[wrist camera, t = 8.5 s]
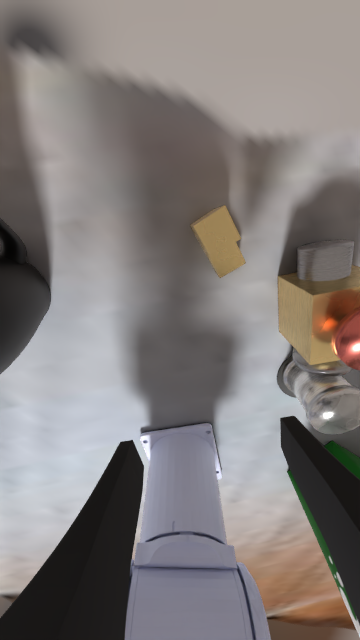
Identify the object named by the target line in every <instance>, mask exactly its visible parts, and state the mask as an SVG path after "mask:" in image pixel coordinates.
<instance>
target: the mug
mask: <svg viewBox="0 0 360 640" xmlns="http://www.w3.org/2000/svg"><path fill="white" fill-rule="evenodd" d="M0 242H1V250H0V374H1V373H2V372H3V371H4V370H6V369H7V368H8V367H9V366H10V365H11V363H12V362H13V361H14V360H15V359H16V358H17V357H18V356H19V355H20V353H21V352H22V351H23V349H24V348H25V347H26V346H27V344H28V343H29V341H30V340H31V338H32V337H33V335H34V333H35V332H36V330H37V328H38V326H39V325H40V323H41V321H42V319H43V317H44V315H45V314H46V313H47V311H48V309H49V306H50V302H51V296H50V291H49V287H48V285H47V283H46V281H45V279H44V278H43V276H42V275H41V274H40V273H39V271H37V270H36V269H35V268H34V267H33V266H32V265H30V264H29V263H27V262H25V261H26V257H27V251H26V248H25V245H24V243H23V242H22V241H21V239H20V238H19V237H18V235H17V234H16V233H15V232H14V231H13V230H12V229H11V228H10V227H9V226H8V225H7V224H6V223H5V222H4V221H3V220H2V219H1V218H0Z"/></svg>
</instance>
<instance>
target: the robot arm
mask: <svg viewBox="0 0 360 640" xmlns="http://www.w3.org/2000/svg"><path fill="white" fill-rule="evenodd" d="M280 421H281V448H282V450H283V453H284V456H285V458H286V461H287V463H288V466H289V468H290V471H291V473H292V475H293V477H294V479H295V481H296V483H297V485H298V487H299V489H300V491H301V493H302V495H303V497H304V499H305V502H306V504H307V506H308V508H309V510H310V512H311V514H312V516H313V518H314V520H315V522H316V524H317V526H318V528H319V530H320V532H321V534H322V536H323V538H324V540H325V542H326V545H327V547H328V549H329V551H330V554H331V556H332V559H333V561H334V563H335V566H336V568H337V571H338V573H339V575H340V578H341V580H342V583H343V585H344V588H345V590H346V593H347V595H348V598H349V600H350V603H351V605H352V607H353V610H354V612H355V615H356V617H357V620H358V622H359V625H360V479H359V478H358V477H356V476H355V475H354V474H353V473H352V472H351V471H350V470H349V469H347V468H346V467H345V466H344V465H343V464H342V463H341V462H340V461H339V460H338V459H337V458H336V457H335V456H334V455H332V454H331V453H330V452H329V451H328V450H327V449H326V448H325V447H324V446H323V445H322V444H321V443H320V442H319V441H318V440H317V439H316V438H315V437H314V436H313V435H312V434H311V433H310V432H309V431H308V430H307V429H306V428H305V427H304V426H303V424H302V423H301V422H300V421H299V420H298V419H297V418H296V417H295V416H290V417H283V418H280ZM140 441H141V443H142V445H143V448H144V450H145V453H146V455H147V458H148V460H149V470H148V478H147V486H146V494H145V503H144V511H143V519H142V527H141V535H140V543H137V546H136V553H135V561H134V560H133V559H132V552H133V546H134V540H135V534H136V528H137V522H138V516H139V509H140V503H141V497H142V489H143V473H144V465H143V463H142V461H141V458H140V456H139V454H138V451H137V449H136V447H135V444H134V442H133V440H130V441H124V442H120V444H119V446H118V447H117V449H116V451H115V453H114V455H113V457H112V459H111V460H110V462H109V464H108V466H107V468H106V469H105V471H104V473H103V475H102V477H101V478H100V480H99V482H98V483H97V485H96V487H95V489H94V490H93V492H92V494H91V495H90V497H89V499H88V500H87V502H86V503H85V505H84V507H83V508H82V510H81V511H80V513H79V514H78V516H77V518H76V519H75V521H74V522H73V524H72V525H71V527H70V528H69V530H68V531H67V533H66V534H65V536H64V537H63V538H62V540H61V541H60V543H59V544H58V545H57V547H56V548H55V550H54V551H53V552H52V554H51V555H50V556H49V558H48V559H47V560H46V562H45V563H44V564H43V566H42V567H41V568H40V570H39V571H38V572H37V574H36V575H35V576H34V578H33V579H32V580H31V581H30V583H29V584H28V585H27V586H26V588H25V589H24V590H23V591H22V593H21V594H20V595H19V596H18V597H17V599H16V600H15V601H14V602H13V603H12V605H11V606H10V607H9V608H8V610H7V611H6V612H5V613H4V614H3V616H2V617H1V618H0V640H271V638H270V633H269V627H268V623H267V618H266V614H265V610H264V606H263V602H262V599H261V596H260V593H259V590H258V587H257V585H256V582H255V580H254V578H253V577H252V576H251V574H250V573H249V571H248V569H247V568H246V566H245V565H244V564H243V563H241V562H236V557H235V551H234V546H233V545H227V540H226V533H225V527H224V520H223V513H222V507H221V500H220V493H219V487H218V480H219V479H221V478H222V473H221V468H220V463H219V458H218V454H217V449H216V444H215V439H214V434H213V430H212V425H211V424H209V423H204V424H198V425H191V426H184V427H178V428H171V429H165V430H158V431H152V432H145V433H142V434H141V435H140Z"/></svg>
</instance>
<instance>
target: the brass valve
mask: <svg viewBox="0 0 360 640" xmlns="http://www.w3.org/2000/svg"><path fill="white" fill-rule="evenodd" d="M353 248H354V241H351V240H329V241H320V242H314V243H309V244H305V245H302V246H300V247H298V248H297V272H296V273H291V274H286V275H281V276H278V307H279V332H280V333H281V334H282V335H283V336H284V337H285V338H286V339H287V340H288V342H289V343H290V344H291V345H292V346H293V347H294V348H293V353H292V358H293V361H294V363H295V364H296V365H297V366H298V367H299V368H300V369H302V370H304V371H306V372H308V373H311V374H314V375H319V376H328V377H332V376H340V375H344V374H346V373H348V372H350V371H351V370H352V368H353V369H357V370H360V267H358V266H354V265H352V257H353Z"/></svg>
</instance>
